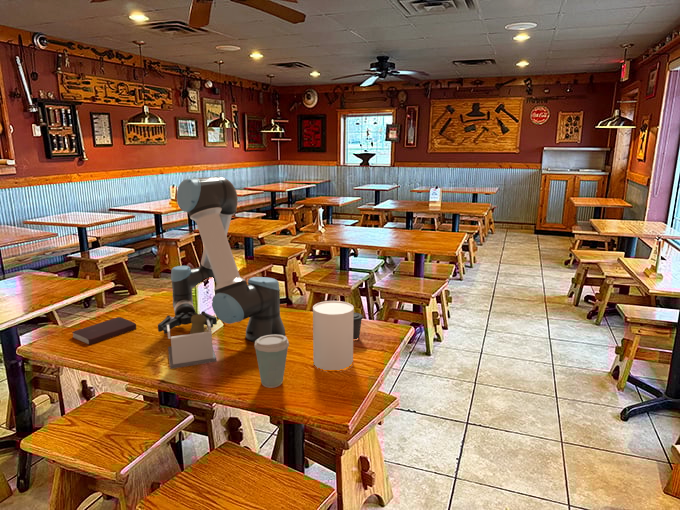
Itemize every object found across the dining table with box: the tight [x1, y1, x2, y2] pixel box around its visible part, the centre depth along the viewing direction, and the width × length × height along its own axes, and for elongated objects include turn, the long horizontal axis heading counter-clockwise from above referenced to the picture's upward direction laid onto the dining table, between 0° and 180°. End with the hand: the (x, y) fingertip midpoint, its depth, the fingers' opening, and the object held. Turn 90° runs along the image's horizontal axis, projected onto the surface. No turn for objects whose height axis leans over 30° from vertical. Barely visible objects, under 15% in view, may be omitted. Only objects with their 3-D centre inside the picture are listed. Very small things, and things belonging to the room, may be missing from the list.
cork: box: [189, 315, 206, 334], centre depth 166 cm, size 6×6×11 cm
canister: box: [312, 300, 355, 370], centre depth 156 cm, size 14×14×20 cm
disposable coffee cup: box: [253, 334, 290, 389], centre depth 143 cm, size 11×11×15 cm
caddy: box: [167, 330, 217, 370], centre depth 162 cm, size 16×15×10 cm
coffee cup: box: [353, 312, 364, 339], centre depth 177 cm, size 8×8×10 cm
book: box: [71, 316, 137, 346], centre depth 182 cm, size 12×19×3 cm, turn 146°
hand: (189, 332), depth 160 cm, fingers open, 13 cm apart
